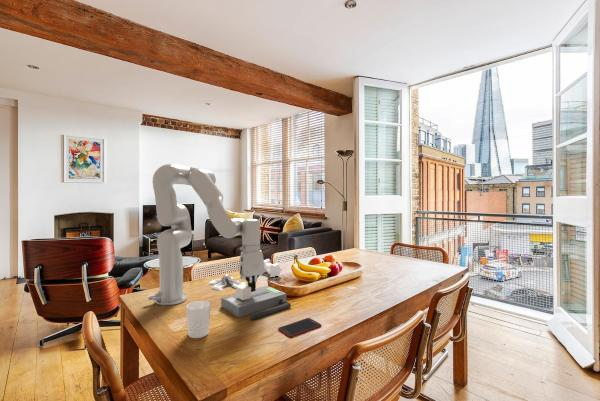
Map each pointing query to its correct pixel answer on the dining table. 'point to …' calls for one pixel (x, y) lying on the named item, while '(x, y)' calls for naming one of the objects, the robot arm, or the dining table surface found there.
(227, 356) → the dining table surface
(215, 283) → the cloth
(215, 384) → the dining table surface
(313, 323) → the cell phone
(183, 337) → the dining table surface
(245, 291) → the white cube
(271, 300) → the box
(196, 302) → the white cup
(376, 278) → the dining table surface
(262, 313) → the dark grey flat bar
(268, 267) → the bone shaped toy
